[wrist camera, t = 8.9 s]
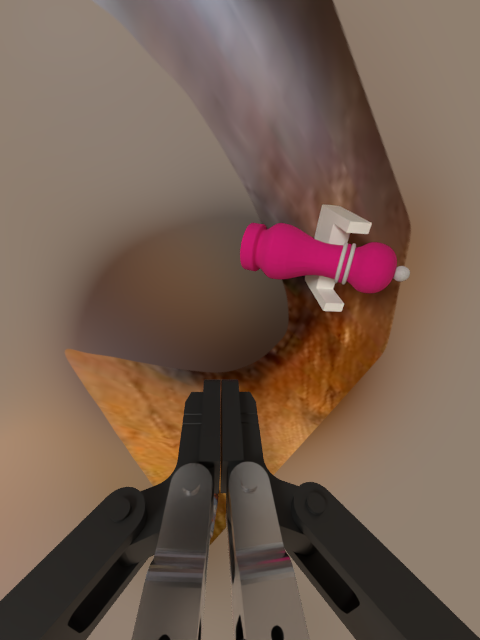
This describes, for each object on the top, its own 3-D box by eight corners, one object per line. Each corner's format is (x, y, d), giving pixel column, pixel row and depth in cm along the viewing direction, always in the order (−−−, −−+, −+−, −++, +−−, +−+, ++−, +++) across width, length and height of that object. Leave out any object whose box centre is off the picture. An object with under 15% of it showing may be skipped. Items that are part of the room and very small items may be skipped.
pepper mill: (246, 279, 40) (393, 312, 34) (233, 258, 33) (414, 294, 27) (260, 236, 41) (405, 260, 35) (250, 207, 34) (428, 230, 28)
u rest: (322, 204, 37) (350, 221, 29) (339, 205, 37) (372, 223, 29) (304, 279, 43) (323, 310, 35) (319, 280, 44) (341, 311, 36)
